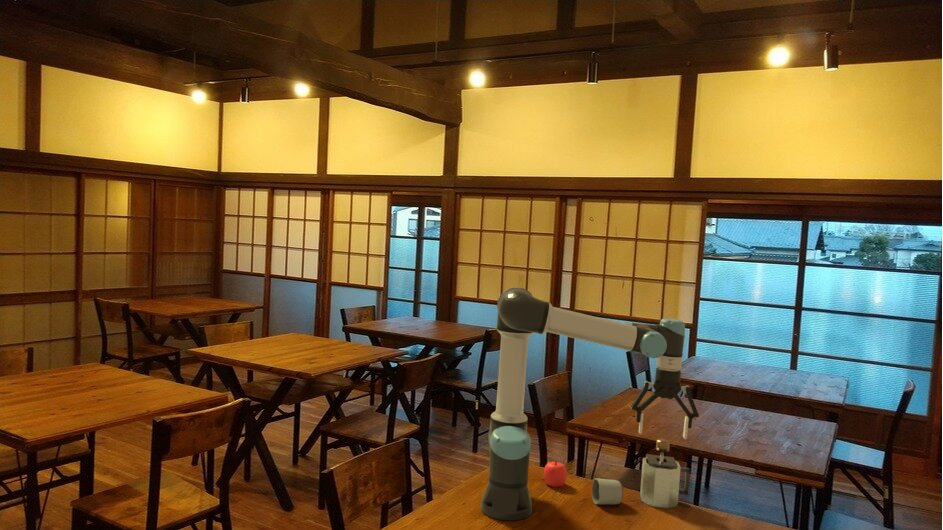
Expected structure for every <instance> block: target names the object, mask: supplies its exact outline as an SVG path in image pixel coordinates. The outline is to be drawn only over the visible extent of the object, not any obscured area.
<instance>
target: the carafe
mask: <svg viewBox="0 0 943 530" xmlns="http://www.w3.org/2000/svg"><path fill="white" fill-rule="evenodd" d="M659 467H663V468H659ZM681 473H685V474H684V487H683V488H680V479H681V478H680V477H681ZM690 473H691V469H690V468H689V467H686V466H685V467H682V466H681V464H680V462H679V461H677V460H675V457H673V456H665V455H664V458H663V462H660V455H655V454H646V457H642V464H641V476H640V477H641V480H640V490H639V491H640V493H639V495H640V500H641V502H642V503H644V504H645V505H647V506H649V507H653V508H656V509H657V508H658V509H663V510H664V509H665V510H666V509H668V510H669V509H673V508H675V507H676V506H678V503H679V494H681V495H689V485H690V475H691V474H690Z"/></svg>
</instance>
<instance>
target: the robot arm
mask: <svg viewBox="0 0 943 530" xmlns="http://www.w3.org/2000/svg"><path fill="white" fill-rule="evenodd" d="M496 306H497V321H496V331H497V332H498V333H499V335H500V348H499V352H500V353H499V362H498V377H497V390H496V391H497V392H496V406H495V411H493V412H492V413H491V414H490V422H489V425H490V426H489V430H488V434H487V435H488V436H487V437H488V438H487V439H488V444H489V445H488V446H489V465H488V466H489V467H488V468H489V469H488V481H487V484H486V487H485V490H484V492H483V495H482V497H481V502H480V509H481V512H482V513H484V514H485V515H486V516H488V517H490V518H492V519H496V520H501V521H521V520H524V519H527V518H529V517H530V516H531V515H532V514H533V513H532V512H533V503H532V498H531V494H530V490H529V486H528V481H529V467H530V453H531V452H530V451H531V448H532V447H531V446H532V445H531V443H532V442H531V437H530V434H529V433H528V416H527V415H526V414H525V413H524V409H525V408H524V404H525V394H526V393H525V389H526V379H527V378H526V375H527V365H528V363H527V362H528V352H529V351H528V349H529V339H530V337H531V336H532V335H533V334H538V335H545V334H546V333H550V334H553V335H554V334H555V335H559V336H563V337H568V338H571V339H576V340H581V341H585V342H589V343H594V344H598V345H603V346H606V347H611V348H614V349H615V348H616V349H620V350H624V351H629V352H632V353H636V354H641V355H643V356H645V357H646V358H651V359H656V366H657V367H656V368H655V376H654V377H655V378H654V382H650V381H648V380H645V381H644V384H643V388H642V389H641V390H640V392H639V393H638V395H637V397H636V398H635V399H634V401H633V402H632V404H631V409H632V411H636V416H635V417H636V419H635V421H636V422H637V423H638V434H640V435H642V434H643V426H644V425H643V424H644V415H645V414H644V410H645V409H646V408H648V406H650V405H651V403H653V402H654V401H655V400H656V399H658V398H661V399H668V400H672V399H675V400H676V402H677V404H678V405H679V406H680V407H681V409H682V410H683V412H684V413H685V416H684V423H683V432H682V438H683V440H688V439H687V438H688V430H689V429H691V428H692V427H693V426H692V424H693V419H694V418H699V416H700V414H699V412H698V409H697V407H696V405H695V402H694V400H693V397H692V394H691V387H690V386H689V385H688V384H687V385H681V377H682V376H681V375H682V371H681V370H682V366H683V365H682V364H683V355H684V354H683V353H684V347H685V345H684V343H685V337H686V335H685V333H686V324H685V322H684V321H683V320H680V319H676V318H662V319H661V320H660V322H659V324H650V323H637V322H619V321H615V320H610V319H608V318H607V319H606V318H603V317H597V316H595V315H594V316H593V315H588V314H585V313H581V312H576V311H573V310H568V309H563V308H561V307H554V306H553V305H552V304H551V302H549V301H545V300H542V299H538V298H536V297H535V296H533V294H532V293H531V292H530V291H529V290H527V289H525V288H522V287H519V286H518V287H510V288H508V289H506V290H504V291H502V293H501V294H500V296H499V297H498V300H497V305H496ZM651 388H653V389H654V391H653V392H652V393H651V394H650V395H649V396H648V397H647V398H646V399H645V400H644V401H643V399H644V397H645V395H646V394H647V392H648V390H650V389H651ZM681 391H682V392H683V394H685V396H686V398H687V401H688V403H689V405H690V408H691V411H692V412H691V411H690V410H689V409H688V408H687V406H686V404H685V403H684V402H683V400H682V398H681V397H680V396H679V395H678V394H679V393H680V392H681ZM642 401H643V402H642ZM641 402H642V403H641ZM640 403H641V404H640Z"/></svg>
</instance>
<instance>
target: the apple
mask: <svg viewBox="0 0 943 530" xmlns="http://www.w3.org/2000/svg"><path fill="white" fill-rule="evenodd" d="M567 475H568V474H567V468H566V466H565V464H564V463H562V462H558V460H555V461H550V462H549V461H548V462H547V463H546V464H545V466H544V470H543V476H544V478H543V479H544V483H546V484H547V485H548V486H550V487H551V486H552V488H558V487H559V486H560V487H563V486H564V485H565V484H566V480H567Z"/></svg>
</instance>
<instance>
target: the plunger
mask: <svg viewBox="0 0 943 530" xmlns="http://www.w3.org/2000/svg"><path fill="white" fill-rule="evenodd" d="M655 443H656V444H655V450H656V451H658V452H660V455H659V456H660V462H663V458H664V456H665V453H668V452H670V444H671V441H670V440H669V439H666V438H656V441H655ZM659 468H663V467H659Z"/></svg>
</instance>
